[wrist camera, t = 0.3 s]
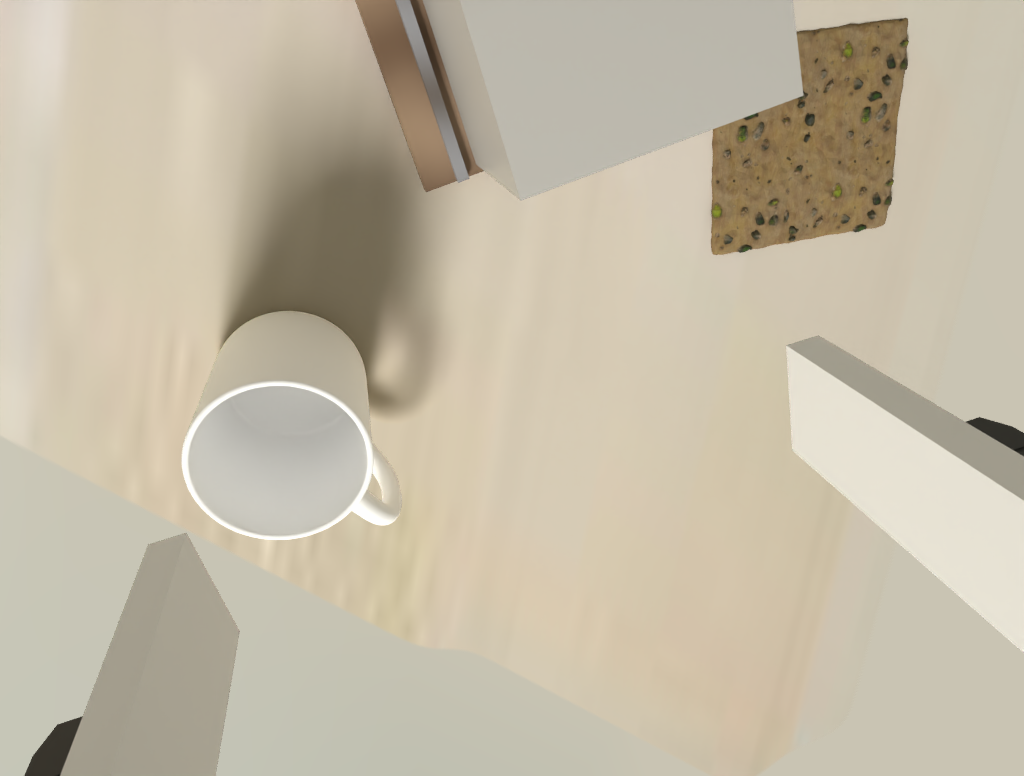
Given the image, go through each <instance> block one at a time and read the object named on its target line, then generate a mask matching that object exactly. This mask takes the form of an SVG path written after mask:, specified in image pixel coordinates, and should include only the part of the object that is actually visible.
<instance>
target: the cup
mask: <svg viewBox="0 0 1024 776" xmlns="http://www.w3.org/2000/svg"><path fill="white" fill-rule="evenodd" d="M182 470H183V475H184V479H185V482H186V485H187V487H188V489H189V491H190V493H191V495H192V496H193V498H194V499H195V501H196V502H197V503H198V505H199V506H200V507H201V508H202V509H203V510H204V511H205V512H206V513H207V514H208V515H209V516H210V517H212V518H213V519H214V520H216V521H217V522H218V523H220V524H222V525H223V526H225V527H227V528H229V529H231V530H233V531H235V532H238V533H241V534H243V535H247V536H251V537H255V538H260V539H269V540H286V539H295V538H301V537H305V536H309V535H312V534H315V533H318V532H320V531H323V530H325V529H327V528H329V527H331V526H332V525H334V524H336V523H337V522H339V521H340V520H341V519H343V518H344V517H345V516H346V515H348V514H349V513H350V512H351V511H353V512H355V513H356V514H358V515H359V516H360V517H362V518H364V519H365V520H367V521H369V522H371V523H374V524H377V525H388V524H391V523H392V522H394V521H395V520H396V519H397V517H398V516H399V514H400V511H401V506H402V494H401V489H400V485H399V481H398V478H397V476H396V473H395V471H394V469H393V467H392V466H391V464H390V463H389V461H388V460H387V458H386V457H385V456H384V454H383V453H382V452H381V451H380V450H379V449H378V448H377V447H376V445H375V444H374V443H372V432H371V421H370V411H369V400H368V389H367V378H366V372H365V367H364V364H363V361H362V358H361V356H360V353H359V351H358V350H357V348H356V346H355V345H354V343H353V342H352V340H351V339H350V338H349V337H348V336H347V335H346V334H345V333H344V332H343V331H342V330H341V329H340V328H338V327H337V326H336V325H334V324H333V323H331V322H329V321H327V320H325V319H323V318H321V317H319V316H316V315H313V314H309V313H305V312H298V311H278V312H272V313H267V314H264V315H261V316H258V317H256V318H254V319H251V320H250V321H248V322H246V323H245V324H243V325H242V326H240V327H239V328H238V329H237V330H236V331H235V332H233V333H232V334H231V336H230V337H229V338H228V339H227V340H226V342H225V343H224V344H223V346H222V348H221V350H220V351H219V353H218V355H217V357H216V360H215V362H214V365H213V367H212V370H211V373H210V375H209V378H208V380H207V383H206V385H205V388H204V390H203V393H202V396H201V398H200V401H199V403H198V406H197V408H196V411H195V413H194V416H193V419H192V421H191V424H190V426H189V429H188V431H187V434H186V437H185V440H184V443H183V449H182ZM372 473H373V474H374V475H375V477H376V479H377V480H378V482H379V485H380V487H381V491H382V501H381V500H379V499H378V498H377V497H376V496H374V495H373V494H372V493H371V492H370V491H368V490H367V488H368V486H369V483H370V481H371V477H372Z"/></svg>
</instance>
